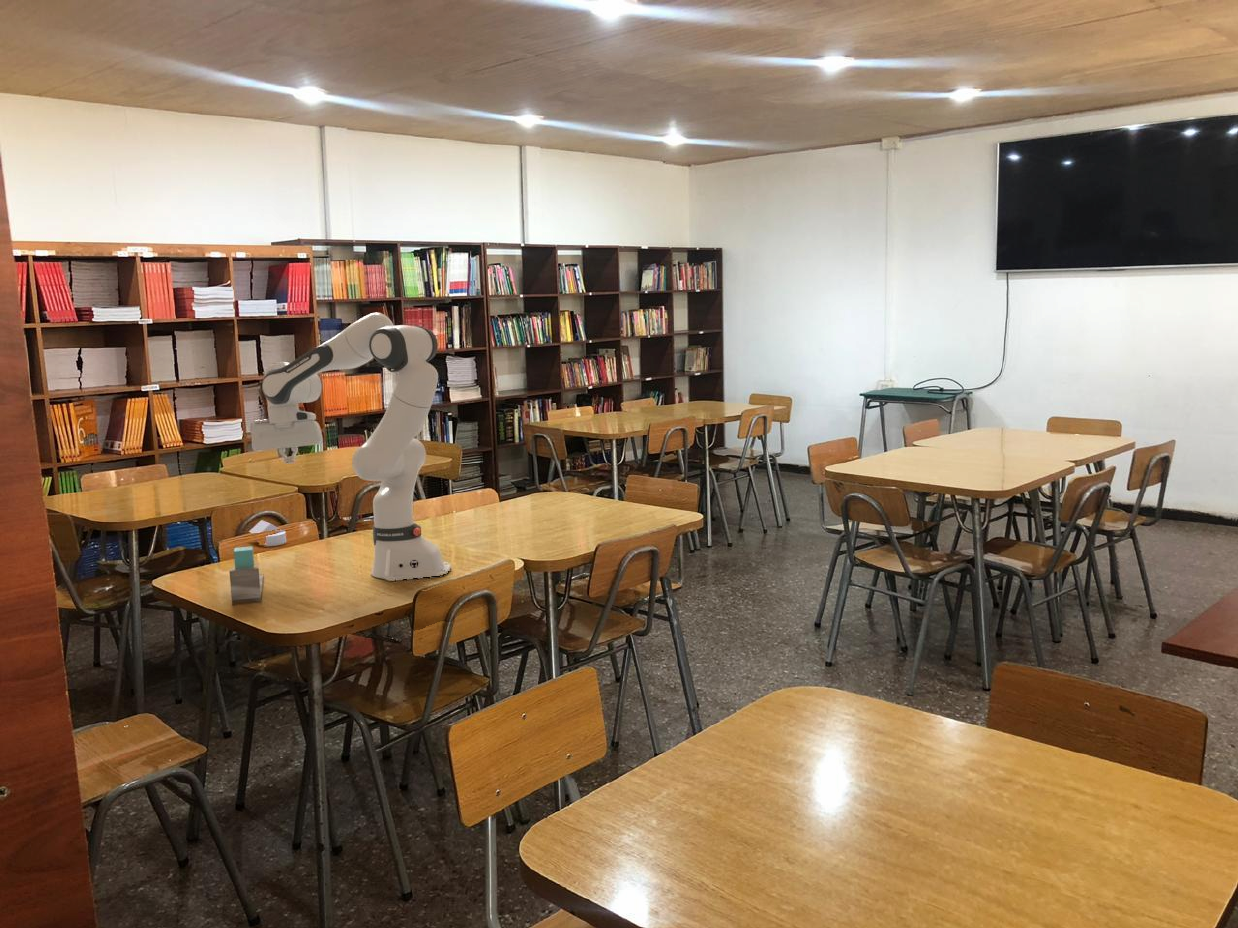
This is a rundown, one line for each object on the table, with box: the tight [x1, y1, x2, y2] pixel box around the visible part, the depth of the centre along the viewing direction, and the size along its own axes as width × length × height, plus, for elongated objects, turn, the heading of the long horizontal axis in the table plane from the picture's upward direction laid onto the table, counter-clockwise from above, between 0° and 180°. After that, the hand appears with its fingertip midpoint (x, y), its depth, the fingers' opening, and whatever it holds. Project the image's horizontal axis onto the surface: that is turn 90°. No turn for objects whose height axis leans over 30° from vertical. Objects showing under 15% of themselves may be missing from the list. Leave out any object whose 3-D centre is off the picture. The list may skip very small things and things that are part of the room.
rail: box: [228, 566, 265, 606], centre depth 258 cm, size 26×7×9 cm, turn 19°
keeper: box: [233, 546, 255, 569], centre depth 250 cm, size 4×4×12 cm
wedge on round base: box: [248, 519, 287, 547], centre depth 317 cm, size 9×7×13 cm
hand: (290, 463), depth 283 cm, fingers closed
